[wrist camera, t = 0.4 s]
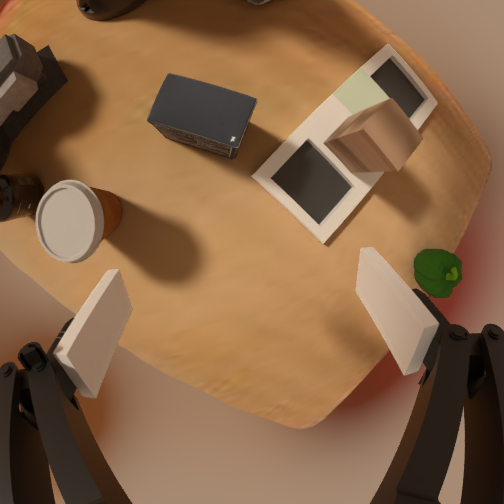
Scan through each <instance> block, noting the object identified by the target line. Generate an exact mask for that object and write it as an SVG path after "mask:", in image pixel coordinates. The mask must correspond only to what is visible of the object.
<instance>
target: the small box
mask: <svg viewBox="0 0 504 504" xmlns="http://www.w3.org/2000/svg"><path fill="white" fill-rule="evenodd" d="M256 103H257V99H256V98H253V97H250V96H248V95H245V94H242V93H238V92H235V91H232V90H229V89H226V88H223V87H219V86H216V85H213V84H209V83H206V82H202V81H198V80H195V79H191V78H187V77H183V76H179V75H175V74H171V73H169V74H167V76H166V78H165V80H164V82H163V84H162V86H161V88H160V90H159V93H158V95H157V97H156V99H155V102H154V104H153V106H152V108H151V111H150V113H149V116H148V118H147V121H148V122H149V123H151V124H152V125H153V126H155V127H156V128H157V129H158V130H159V131H160V132H161V133H162V134H163V135H164V137H165V138H168V139H171V140H174V141H178V142H181V143H184V144H187V145H191V146H194V147H197V148H200V149H203V150H205V151H209V152H212V153H215V154H218V155H221V156H224V157H227V158H230V159H234V158H236V154H237V151H238V149H239V146H240V144H241V142H242V139H243V136H244V134H245V131H246V129H247V126H248V123H249V121H250V118H251V116H252V113H253V110H254V108H255V105H256Z"/></svg>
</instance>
